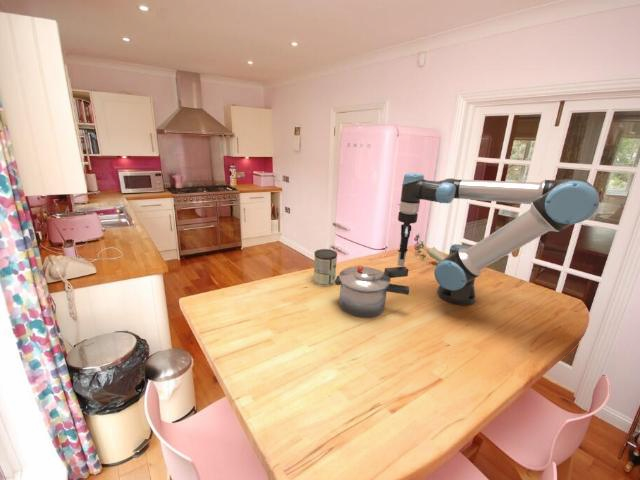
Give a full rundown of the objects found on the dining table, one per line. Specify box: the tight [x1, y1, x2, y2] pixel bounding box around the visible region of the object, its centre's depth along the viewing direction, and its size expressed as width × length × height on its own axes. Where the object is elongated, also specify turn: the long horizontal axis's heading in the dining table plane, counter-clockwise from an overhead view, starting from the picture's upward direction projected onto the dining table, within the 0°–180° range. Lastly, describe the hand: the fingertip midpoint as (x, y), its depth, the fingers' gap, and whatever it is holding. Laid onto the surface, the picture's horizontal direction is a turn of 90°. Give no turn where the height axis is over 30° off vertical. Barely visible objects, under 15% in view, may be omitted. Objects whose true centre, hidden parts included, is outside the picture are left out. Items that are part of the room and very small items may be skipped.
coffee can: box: [313, 248, 338, 287], centre depth 136 cm, size 10×10×14 cm
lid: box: [338, 265, 409, 292], centre depth 117 cm, size 28×20×5 cm
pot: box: [334, 275, 410, 319], centre depth 118 cm, size 28×18×11 cm, turn 77°
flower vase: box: [413, 233, 446, 263], centre depth 165 cm, size 12×12×35 cm
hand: (400, 265), depth 129 cm, fingers closed
